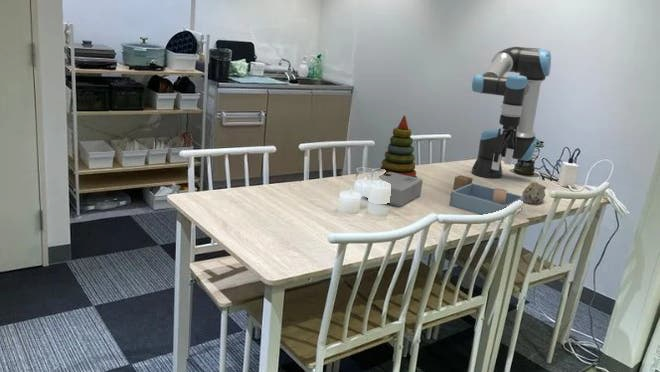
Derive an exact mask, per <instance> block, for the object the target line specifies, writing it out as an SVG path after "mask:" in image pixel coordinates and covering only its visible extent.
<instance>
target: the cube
mask: <svg viewBox="0 0 660 372" xmlns="http://www.w3.org/2000/svg"><path fill="white" fill-rule="evenodd" d="M473 179H474V178H473V177H470V176H466V175H463V174H460V175H457V176H455V177H454V181H453V187H452V191H454V190H457V189H459V188H461V187H464V186H466V185H469V184H471V183H473V182H474V181H473Z"/></svg>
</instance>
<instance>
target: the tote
mask: <svg viewBox="0 0 660 372" xmlns="http://www.w3.org/2000/svg"><path fill="white" fill-rule="evenodd" d="M494 189H495V188H492V187H488V186H485V185H481V184H476V183H474V182H472V183H471V184H469V185H466V186H464V187H461V188H459V189H457V190H452V191H451V193H450V199H449V206H451V207H456V208H459V209H463V210H465V211H469V212H472V213H476V214H478V215H482V214H488V213H493V212H496V211H499V210H502V209H504V208H506V207H507V206H509V205H510V204H512V203H513V202H515V201H518V200H521V201H523V203H524V197H523V196H522V195H518V194H516V193H511V192H508V191H507V194H506V199H505V205H500V204H496V203H493V202H492V199H493V194H494ZM521 209H522V210H523V207H522V208H521Z"/></svg>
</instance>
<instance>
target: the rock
mask: <svg viewBox="0 0 660 372" xmlns="http://www.w3.org/2000/svg"><path fill="white" fill-rule="evenodd" d="M546 189H547V187H546V186H544V185H542V184H539V182H536V181H535V182H530V183H529V184H528V185H527V186H526V187H525V189H524V190H523V192H522V195H521V196H523V197H524V202H523V204H524V203H525V204H536V203H538V204H541V203H543V200H545V197H546V192H545V191H546Z"/></svg>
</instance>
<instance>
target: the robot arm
mask: <svg viewBox="0 0 660 372" xmlns="http://www.w3.org/2000/svg"><path fill="white" fill-rule="evenodd" d="M551 66H552V54H551V51H550V50H548V49H543V48H537V47H536V48H535V47H521V46H511V47H507V48H505V49H503V50H501V51H499V52H497V53H496V54H494V56H493V58H492V60H491V63H490V65H489V66H488V68H487V69H486V71H484V73H483V74H482V73H476V74H474V75H473V78H472V81H471V82H472V83H471V89H472V92H474V93H479V94H486V95H493V96H500V97H501V96H502V97H503V100H502V105H501V106H500V107H501V111H500V112H501V114H500V116H499V121H498V122H499V124H500V125H501V126H502V128H492V129H491V128H490V129H485V130H483V131H482V132H481V135H480V138H479V145H478V146H479V147H478V151H477V152H478V153H477V158H476V160H475V162H474V163H473V166H472V168H471V173H472V174H473V175H475V176H477V177H481V178H487V179H500V178H502V177H503V167H502V158H504V161H503V162H504V163H503V164H505V165H507V166H508V165H510V166H511V165H512V161H513V159H514V160H520V161H525V162H526V161H527V162H528V161H530V160H531V159H532V157H533V155H534V151H535V148H536V145H537V143H538V138H536V134H535V132H534V131H533V129H534V124H535V118H536V113H537V108H538V102H539V96H540V90H541V85H542V83H543V82H544V81H545V80H546V77H549V76H550V74H551V68H552V67H551ZM509 72H510V73H517V74H509V75H507V77H506V76H505V75H506V73H509Z"/></svg>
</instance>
